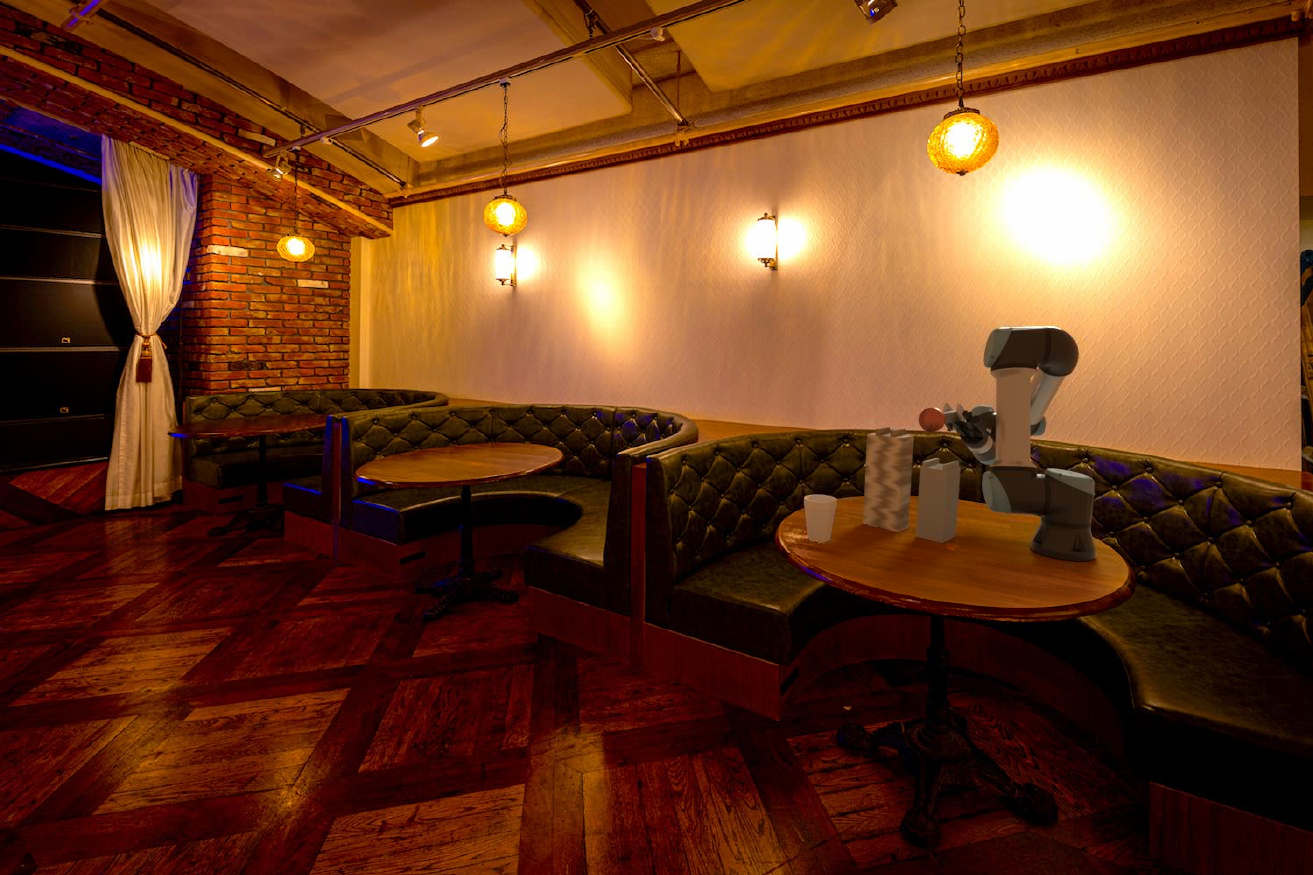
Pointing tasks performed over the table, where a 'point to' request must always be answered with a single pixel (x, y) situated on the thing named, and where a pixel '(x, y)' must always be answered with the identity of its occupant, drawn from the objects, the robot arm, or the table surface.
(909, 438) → the beige patterned tall block
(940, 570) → the table surface
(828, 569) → the table surface
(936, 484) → the tall grey block
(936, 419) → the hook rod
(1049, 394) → the robot arm
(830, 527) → the foam cup
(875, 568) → the table surface
